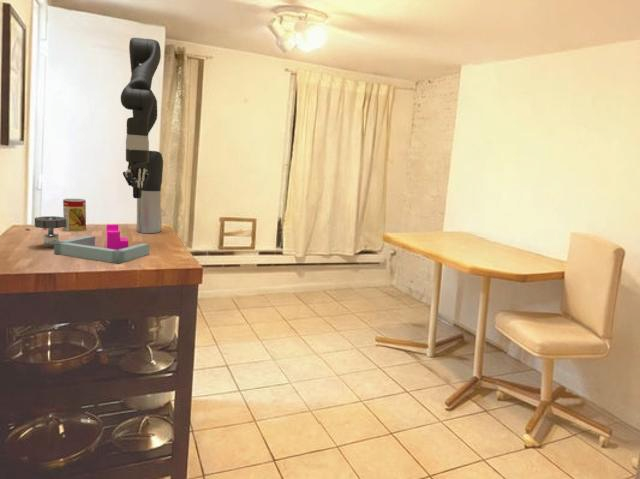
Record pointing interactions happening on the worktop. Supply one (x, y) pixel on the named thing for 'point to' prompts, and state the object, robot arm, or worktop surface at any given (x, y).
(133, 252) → the grey u-shaped bracket
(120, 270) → the worktop surface
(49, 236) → the axle hub
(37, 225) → the wheel
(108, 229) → the toy block
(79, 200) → the canned food
